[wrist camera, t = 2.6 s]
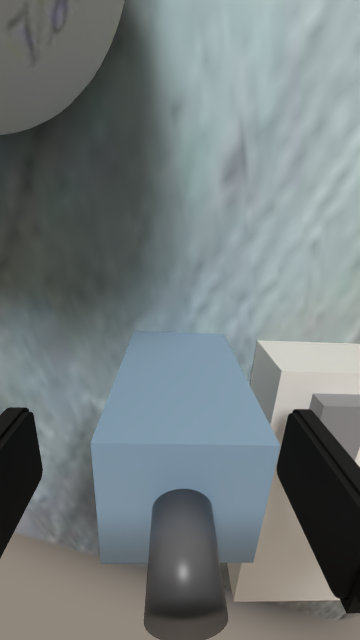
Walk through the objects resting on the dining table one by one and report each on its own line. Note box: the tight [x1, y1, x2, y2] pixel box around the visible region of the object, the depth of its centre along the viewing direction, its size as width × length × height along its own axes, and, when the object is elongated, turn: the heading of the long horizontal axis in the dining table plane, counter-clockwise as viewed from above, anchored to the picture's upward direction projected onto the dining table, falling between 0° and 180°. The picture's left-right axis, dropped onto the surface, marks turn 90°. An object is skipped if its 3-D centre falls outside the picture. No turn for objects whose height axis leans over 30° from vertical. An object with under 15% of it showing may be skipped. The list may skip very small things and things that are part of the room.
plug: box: [91, 331, 280, 640], centre depth 9 cm, size 4×4×9 cm
